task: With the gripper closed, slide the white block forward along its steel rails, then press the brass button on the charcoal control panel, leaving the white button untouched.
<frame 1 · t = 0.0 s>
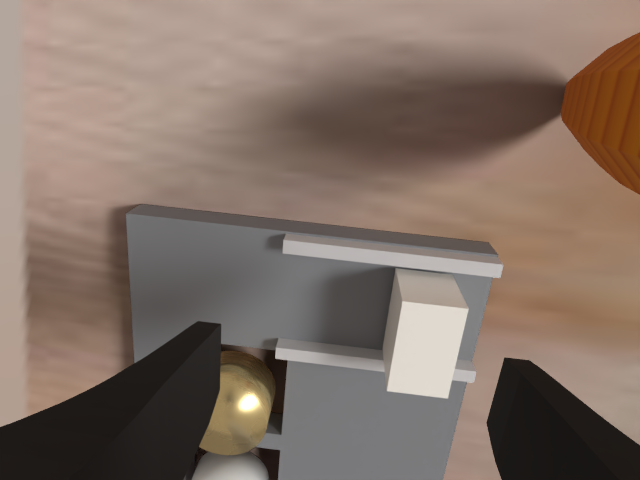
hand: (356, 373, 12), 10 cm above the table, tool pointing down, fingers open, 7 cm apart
control panel: (296, 392, 24), on the table
brass button: (229, 401, 22), point 2 cm above the table, slide at 0.0 cm
carrot: (572, 96, 19), on the table
white block: (420, 330, 19), point 3 cm above the table, slide at 0.0 cm
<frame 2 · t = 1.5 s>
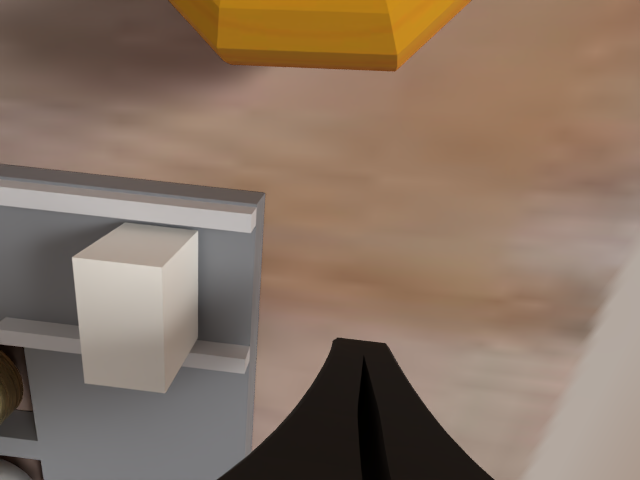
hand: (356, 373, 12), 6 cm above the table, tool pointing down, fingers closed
control panel: (67, 388, 20), on the table
white block: (144, 303, 14), point 3 cm above the table, slide at 0.0 cm
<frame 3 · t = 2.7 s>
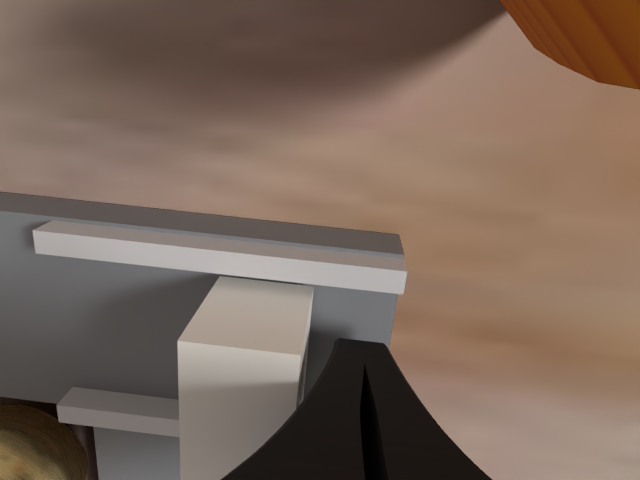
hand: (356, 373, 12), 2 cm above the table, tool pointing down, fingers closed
control panel: (135, 459, 16), on the table
white block: (251, 384, 11), point 3 cm above the table, slide at 0.4 cm, touching gripper
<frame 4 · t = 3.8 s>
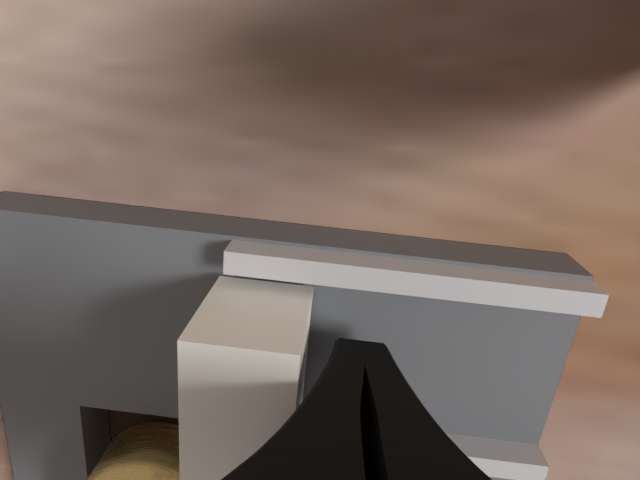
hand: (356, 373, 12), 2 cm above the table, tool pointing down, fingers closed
control panel: (263, 475, 16), on the table
white block: (250, 384, 11), point 3 cm above the table, slide at 5.0 cm, touching gripper
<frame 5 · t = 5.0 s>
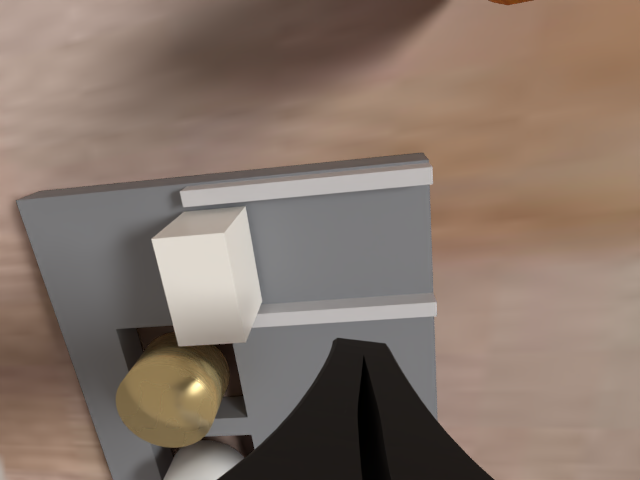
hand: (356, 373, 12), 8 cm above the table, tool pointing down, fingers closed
control panel: (259, 369, 22), on the table
brass button: (175, 388, 20), point 2 cm above the table, slide at 0.0 cm
white block: (213, 273, 17), point 3 cm above the table, slide at 5.0 cm
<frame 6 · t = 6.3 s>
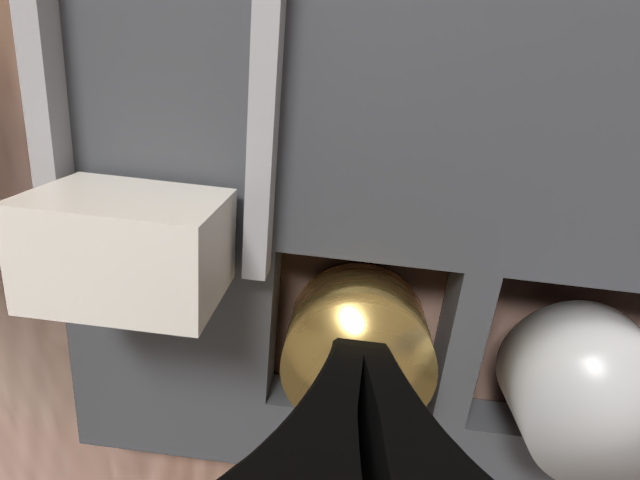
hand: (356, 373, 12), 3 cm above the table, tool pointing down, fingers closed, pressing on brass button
control panel: (404, 230, 13), on the table
brass button: (357, 346, 13), point 2 cm above the table, slide at 0.8 cm, touching gripper
white block: (132, 246, 10), point 3 cm above the table, slide at 5.0 cm
white button: (589, 392, 12), point 2 cm above the table, slide at 0.0 cm
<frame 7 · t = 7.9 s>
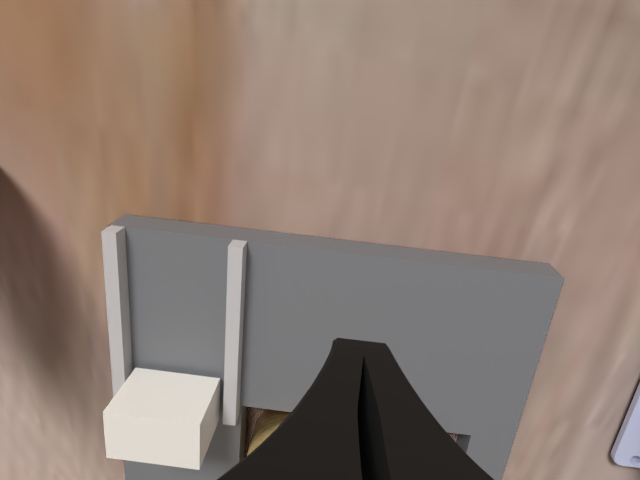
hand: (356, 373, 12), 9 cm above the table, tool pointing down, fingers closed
control panel: (317, 386, 23), on the table
brass button: (289, 452, 23), point 2 cm above the table, slide at 0.9 cm
white block: (165, 416, 20), point 3 cm above the table, slide at 5.0 cm
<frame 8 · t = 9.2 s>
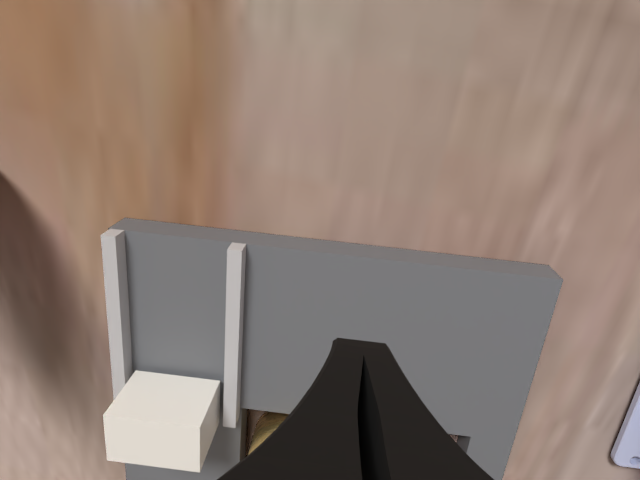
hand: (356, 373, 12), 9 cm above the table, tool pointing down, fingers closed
control panel: (317, 388, 23), on the table
brass button: (289, 454, 23), point 2 cm above the table, slide at 0.9 cm
white block: (166, 418, 20), point 3 cm above the table, slide at 5.0 cm
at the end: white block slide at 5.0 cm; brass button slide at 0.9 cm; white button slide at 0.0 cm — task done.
